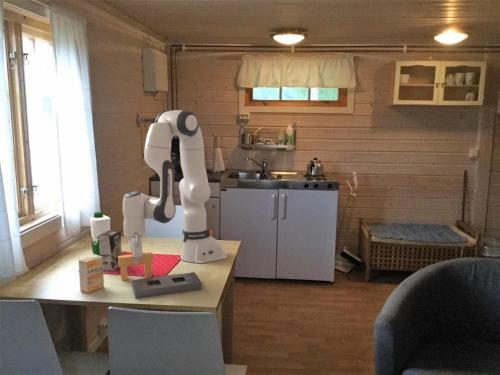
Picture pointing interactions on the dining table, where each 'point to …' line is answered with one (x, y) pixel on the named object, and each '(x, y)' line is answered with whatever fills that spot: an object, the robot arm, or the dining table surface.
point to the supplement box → (91, 273)
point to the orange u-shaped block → (129, 261)
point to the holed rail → (166, 285)
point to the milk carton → (98, 229)
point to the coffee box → (110, 249)
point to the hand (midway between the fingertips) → (135, 261)
